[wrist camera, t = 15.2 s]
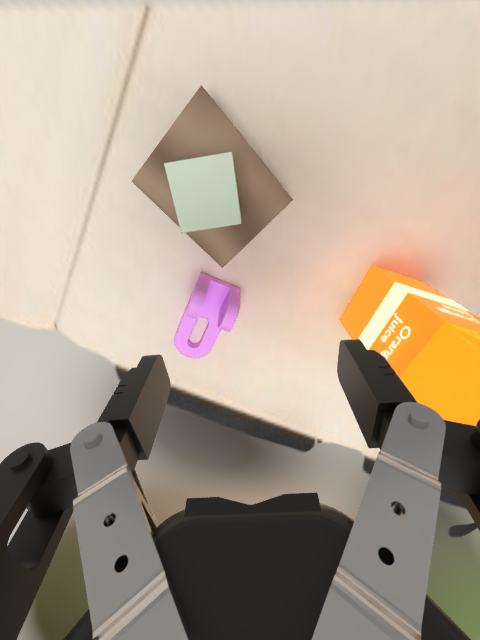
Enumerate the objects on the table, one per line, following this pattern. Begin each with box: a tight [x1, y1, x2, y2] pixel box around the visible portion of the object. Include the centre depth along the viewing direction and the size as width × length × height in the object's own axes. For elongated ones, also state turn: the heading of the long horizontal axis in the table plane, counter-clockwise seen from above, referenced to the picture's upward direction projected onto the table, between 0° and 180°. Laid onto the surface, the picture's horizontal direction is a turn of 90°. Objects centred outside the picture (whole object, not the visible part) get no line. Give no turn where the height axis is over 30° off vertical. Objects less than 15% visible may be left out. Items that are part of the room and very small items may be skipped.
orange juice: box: [340, 265, 480, 426], centre depth 28 cm, size 8×9×20 cm
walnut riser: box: [132, 85, 293, 268], centre depth 28 cm, size 10×12×5 cm
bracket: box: [174, 272, 240, 358], centre depth 36 cm, size 13×6×7 cm, turn 155°
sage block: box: [164, 152, 241, 233], centre depth 23 cm, size 5×5×6 cm
